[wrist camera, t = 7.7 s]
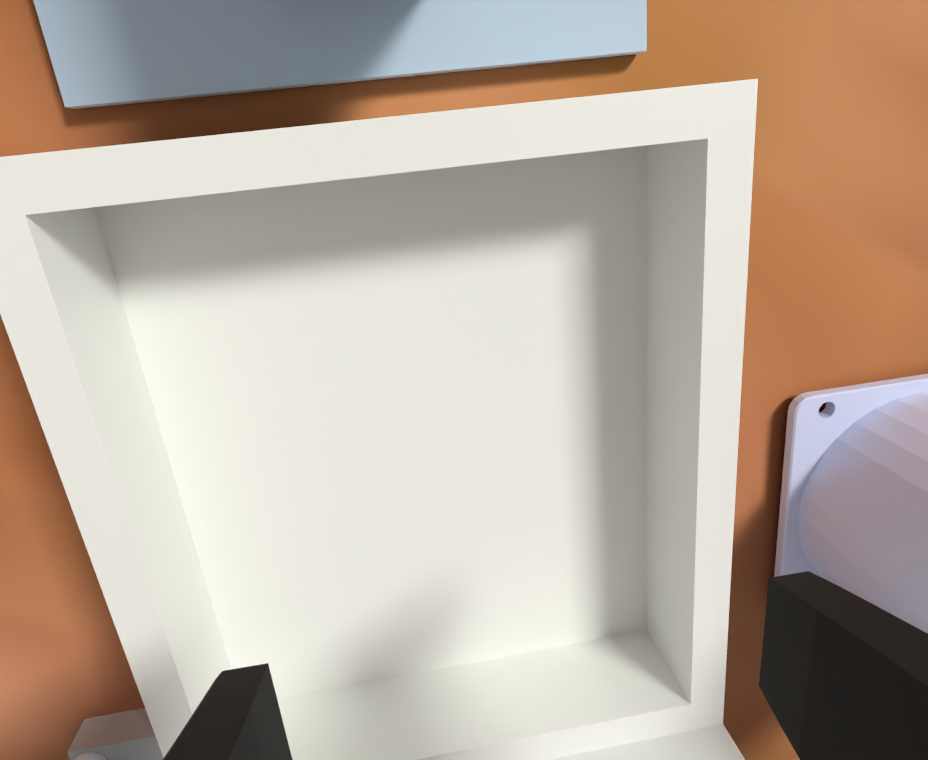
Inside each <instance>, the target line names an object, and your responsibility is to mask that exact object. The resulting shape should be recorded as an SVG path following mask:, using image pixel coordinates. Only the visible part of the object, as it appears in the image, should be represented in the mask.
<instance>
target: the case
mask: <svg viewBox="0 0 928 760" xmlns="http://www.w3.org/2000/svg"><path fill="white" fill-rule="evenodd" d="M757 87H758V79H751V80H741V81H732V82H722V83H712V84H703V85H693V86H683V87H674V88H664V89H654V90H645V91H635V92H625V93H616V94H606V95H596V96H586V97H577V98H567V99H557V100H548V101H538V102H528V103H519V104H509V105H499V106H490V107H480V108H470V109H461V110H451V111H441V112H432V113H422V114H412V115H403V116H393V117H383V118H374V119H364V120H354V121H345V122H335V123H325V124H316V125H306V126H296V127H287V128H277V129H267V130H258V131H248V132H238V133H229V134H219V135H209V136H200V137H190V138H180V139H171V140H161V141H151V142H142V143H132V144H122V145H113V146H103V147H93V148H84V149H74V150H64V151H55V152H45V153H35V154H26V155H16V156H6V157H0V314H1V317H2V320H3V323H4V325H5V328H6V331H7V333H8V336H9V339H10V342H11V344H12V347H13V350H14V352H15V355H16V358H17V361H18V363H19V366H20V369H21V372H22V374H23V377H24V380H25V382H26V385H27V388H28V391H29V393H30V396H31V399H32V401H33V404H34V407H35V410H36V412H37V415H38V418H39V421H40V423H41V426H42V429H43V431H44V434H45V437H46V440H47V442H48V445H49V448H50V450H51V453H52V456H53V459H54V461H55V464H56V467H57V469H58V472H59V475H60V478H61V480H62V483H63V486H64V489H65V491H66V494H67V497H68V499H69V502H70V505H71V508H72V510H73V513H74V516H75V518H76V521H77V524H78V527H79V529H80V532H81V535H82V538H83V540H84V543H85V546H86V548H87V551H88V554H89V557H90V559H91V562H92V565H93V567H94V570H95V573H96V576H97V578H98V581H99V584H100V586H101V589H102V592H103V595H104V597H105V600H106V603H107V606H108V608H109V611H110V614H111V616H112V619H113V622H114V625H115V627H116V630H117V633H118V635H119V638H120V641H121V644H122V646H123V649H124V652H125V655H126V657H127V660H128V663H129V665H130V668H131V671H132V674H133V676H134V679H135V682H136V684H137V687H138V690H139V693H140V695H141V698H142V701H143V703H144V706H145V708H141V709H135V710H130V711H125V712H119V713H114V714H108V715H103V716H98V717H92V718H87V719H84V721H83V723H82V724H81V726H80V728H79V730H78V732H77V734H76V736H75V738H74V740H73V742H72V744H71V746H70V748H69V750H68V752H67V754H68V757H69V759H70V760H163V758H164V757H165V755H166V754H167V752H168V751H169V749H170V748H171V746H172V745H173V743H174V742H175V740H176V739H177V737H178V736H179V734H180V733H181V731H182V730H183V728H184V727H185V725H186V724H187V722H188V721H189V719H190V718H191V716H192V714H193V713H194V711H195V710H196V708H197V707H198V705H199V704H200V702H201V701H202V699H203V698H204V696H205V694H206V693H207V691H208V690H209V688H210V687H211V685H212V684H213V682H214V681H215V679H216V678H217V677H218V676H219V674H220V673H221V672H222V671H225V670H231V669H237V668H243V667H249V666H254V665H260V664H266V663H268V665H269V669H270V673H271V676H272V680H273V684H274V688H275V692H276V696H277V700H278V704H279V708H280V712H281V716H282V720H283V724H284V728H285V732H286V736H287V740H288V744H289V748H290V752H291V756H292V760H745V759H744V757H743V755H742V754H741V752H740V750H739V749H738V747H737V746H736V744H735V742H734V741H733V739H732V738H731V736H730V734H729V733H728V731H727V730H726V728H725V726H724V725H723V714H724V696H725V677H726V659H727V640H728V622H729V603H730V585H731V566H732V548H733V530H734V511H735V493H736V474H737V456H738V437H739V419H740V400H741V382H742V364H743V345H744V327H745V308H746V290H747V271H748V253H749V234H750V216H751V197H752V179H753V161H754V142H755V124H756V105H757Z"/></svg>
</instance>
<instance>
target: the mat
mask: <svg viewBox="0 0 928 760" xmlns="http://www.w3.org/2000/svg"><path fill="white" fill-rule="evenodd" d="M33 1H34V5H35V8H36V11H37V15H38V18H39V21H40V25H41V28H42V32H43V35H44V38H45V42H46V45H47V48H48V52H49V55H50V59H51V62H52V65H53V69H54V72H55V75H56V79H57V82H58V86H59V89H60V92H61V96H62V99H63V102H64V106H65V107H66V108H72V109H80V108H90V107H100V106H110V105H121V104H131V103H141V102H151V101H162V100H172V99H182V98H192V97H203V96H213V95H223V94H233V93H244V92H254V91H264V90H274V89H285V88H295V87H305V86H315V85H326V84H336V83H346V82H356V81H367V80H377V79H387V78H397V77H408V76H418V75H428V74H438V73H449V72H459V71H469V70H479V69H490V68H500V67H510V66H520V65H531V64H541V63H551V62H561V61H572V60H582V59H592V58H602V57H613V56H623V55H633V54H639V53H642V52H645V51H647V0H33Z"/></svg>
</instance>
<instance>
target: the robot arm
mask: <svg viewBox="0 0 928 760" xmlns="http://www.w3.org/2000/svg"><path fill="white" fill-rule="evenodd" d="M823 403H826V406H825V408H824V409H823V410H822V411H821V412H818V411H819V408H820V406H821V405H822V404H823ZM759 686H760V688H761V690H762V692H763V694H764V696H765V698H766V699H767V701H768V703H769V705H770V707H771V709H772V711H773V712H774V714H775V716H776V718H777V720H778V722H779V724H780V725H781V727H782V729H783V731H784V732H785V734H786V736H787V737H788V739H789V741H790V743H791V744H792V746H793V748H794V750H795V751H796V753H797V755H798V756H799V758H800V759H801V760H928V374H922V375H916V376H909V377H903V378H897V379H890V380H884V381H877V382H871V383H864V384H858V385H851V386H845V387H838V388H832V389H825V390H819V391H812V392H806V393H803V394H800V395H798V396H797V397H795V398H794V399H793V400H792V402H791V403H790V405H789V408H788V416H787V428H786V440H785V452H784V464H783V476H782V488H781V500H780V512H779V524H778V536H777V548H776V560H775V572H774V577H770V578H769V585H768V596H767V606H766V617H765V628H764V639H763V650H762V661H761V671H760V682H759ZM163 760H292V756H291V752H290V748H289V744H288V740H287V736H286V732H285V728H284V724H283V720H282V716H281V712H280V708H279V704H278V700H277V696H276V692H275V688H274V684H273V680H272V676H271V673H270V669H269V665H268V663H266V664H260V665H254V666H249V667H243V668H237V669H231V670H225V671H222V672H221V673H220V674H219V676H218V677H217V678H216V679H215V681H214V682H213V684H212V685H211V687H210V688H209V690H208V691H207V693H206V694H205V696H204V698H203V699H202V701H201V702H200V704H199V705H198V707H197V708H196V710H195V711H194V713H193V714H192V716H191V718H190V719H189V721H188V722H187V724H186V725H185V727H184V728H183V730H182V731H181V733H180V734H179V736H178V737H177V739H176V740H175V742H174V743H173V745H172V746H171V748H170V749H169V751H168V752H167V754H166V755H165V757H164V758H163Z"/></svg>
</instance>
